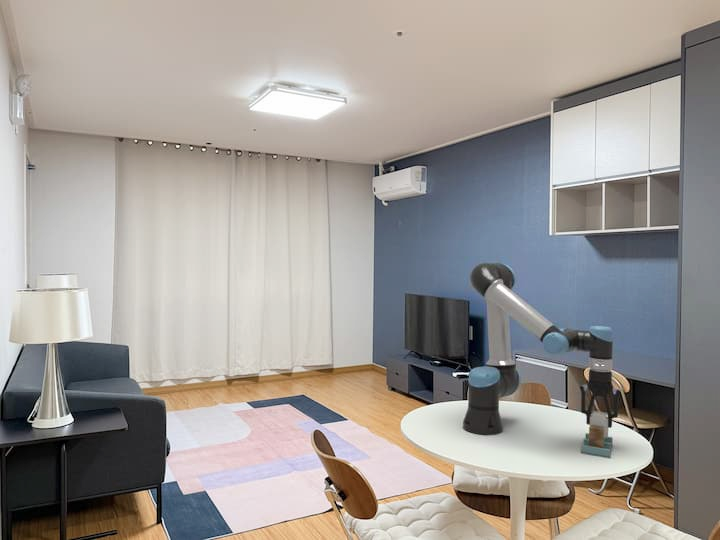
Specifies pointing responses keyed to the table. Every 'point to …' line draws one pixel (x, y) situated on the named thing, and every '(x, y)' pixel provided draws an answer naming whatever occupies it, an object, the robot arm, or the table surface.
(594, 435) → the walnut plug
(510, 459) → the table surface
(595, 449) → the teal-ribbed grey panel
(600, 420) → the white rectangular block
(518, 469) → the table surface
